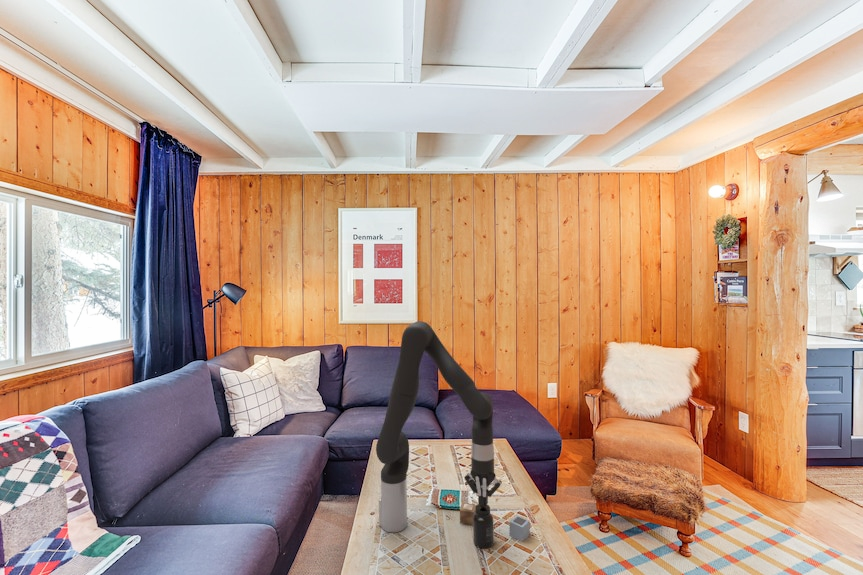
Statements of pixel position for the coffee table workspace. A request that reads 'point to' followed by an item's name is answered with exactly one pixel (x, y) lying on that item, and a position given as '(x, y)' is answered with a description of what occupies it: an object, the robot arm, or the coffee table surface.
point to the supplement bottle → (483, 527)
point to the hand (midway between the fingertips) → (483, 505)
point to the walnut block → (467, 513)
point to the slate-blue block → (519, 528)
